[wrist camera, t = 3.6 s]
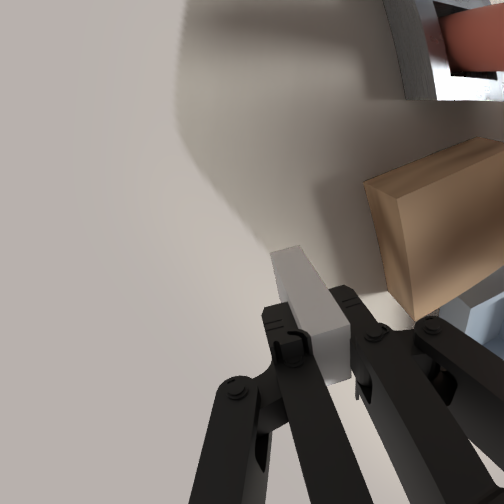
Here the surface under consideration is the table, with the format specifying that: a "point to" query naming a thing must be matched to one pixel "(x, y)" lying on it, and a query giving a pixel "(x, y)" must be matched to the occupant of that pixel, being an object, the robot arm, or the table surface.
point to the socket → (435, 53)
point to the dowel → (474, 39)
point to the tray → (480, 312)
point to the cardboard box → (440, 223)
